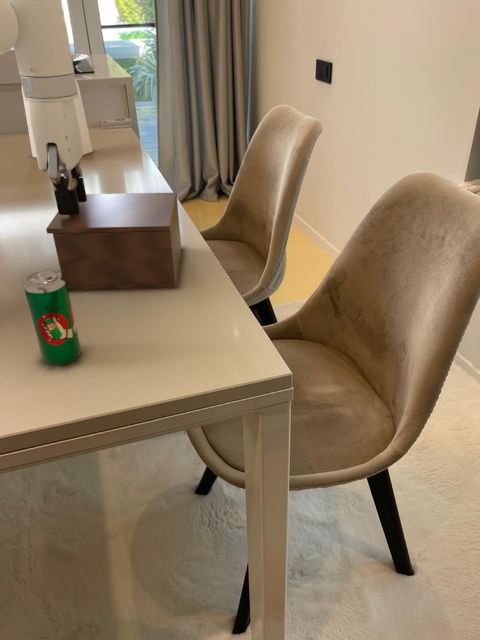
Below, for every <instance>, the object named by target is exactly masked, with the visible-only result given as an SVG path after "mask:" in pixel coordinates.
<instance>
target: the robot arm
mask: <svg viewBox="0 0 480 640" xmlns="http://www.w3.org/2000/svg"><path fill="white" fill-rule="evenodd" d="M69 39H70V38H69V34H68V28H67V23H66V15H65V10H64V4H63V0H0V56H2V55H4V54H6V53H8V52H10V50H12V49H13V51H14V55H15V61H16V64H17V65H16V66H17V69H18V73H19V78H20V82H21V88H22V87H23V92H24V96H25V100H26V101H29V107H30V119H31V126H32V133H33V139H34V144H35V150H36V156H37V157H36V161H37V166H38V169H39V170H40V171H41V172H43V173H45V172H47V171H48V177H49V178H48V179H49V180H50V182H51V184H52V185H51V186H52V191H53V193H54V198H55V202H56V209H57V212H58V213H59V214H60V215H78V214H79V212H80V211H79V206H78V202H86V200H87V197H86V194H87V193H86V192H87V191H86V187H85V181H84V177H83V170H82V166H81V159H82V157H83V155H82V154H83V149H82V141H81V135H80V130H79V125H78V120H77V115H76V111H75V106H74V102H73V99H76V98H77V97H78V92H77V86H76V81H77V79H76V75H75V74H76V73H75V70H74V64H73V63H74V62H73V57H72V52H71V51H72V50H71V46H70V40H69ZM60 166H61V169H60ZM72 178H75V179H76V180H77V182H78V185H77V187H76V190H75V189H73V185H72ZM76 192H77V195H76ZM77 197H78V201H77Z"/></svg>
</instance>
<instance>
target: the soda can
mask: <svg viewBox="0 0 480 640" xmlns="http://www.w3.org/2000/svg"><path fill="white" fill-rule="evenodd" d="M24 282H25V284H24V286H23V290H24V294H25V298H26V301H27V306H28V308H29V313H30V316H31V320H32V324H33V328H34V331H35V336H36V339H37V342H38V346H39V351H40V354H41V357H42V359H43V360H44V362H45V363H48V364H50V365H53V366H63V365H67V364H70V363H72V362H74V361H75V360H77V358H79V356H80V354H81V352H82V348H81V342H80V339H79V338H80V337H79V334H78V328H77V324H76V319H75V315H74V311H73V305H72V301H71V297H70V291H68V287H67V283H66V280H65V279H64V278H63V277H62V274H61V271H58V270H56V269H42V270H37V271H34V272H32V273H30V274H28V275H26V277H25V279H24Z"/></svg>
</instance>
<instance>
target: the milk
mask: <svg viewBox="0 0 480 640" xmlns="http://www.w3.org/2000/svg"><path fill="white" fill-rule="evenodd" d="M76 86H77V92H78V97H77V98H76V99H73V102H74V106H75V111H76V115H77V120H78V125H79V130H80V135H81V141H82V149H83V154H82V156H84V155H86V154H90V153H92V152H93V146H92V140H91V137H90V132H89V126H88V122H87V118H86V113H85V108H84V104H83V99H82V94H81V90H80V86H79V83H78V81H77V80H76ZM21 94H22V99H23V100H22V101H23V107H24V112H25V119H26V124H27V131H28V136H29V143H30V149H31V156H32V158H37V156H36V150H35V144H34V139H33V133H32V126H31V119H30V107H29V101H26V100H25V96H24V92H23V87H22V86H21Z"/></svg>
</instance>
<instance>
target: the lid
mask: <svg viewBox="0 0 480 640" xmlns="http://www.w3.org/2000/svg"><path fill="white" fill-rule="evenodd" d="M72 185H73V189H75V190H76V187H77V185H78V182H77V180H76V179H75V178H72ZM76 195H77V192H76ZM86 197H87V200H86V202H78V206H79V211H80V212H79V214H78V215H60V214H59V213H58V211H57V212H56V214H55V215H54V217H53V218H52V219H51V221H50V223H49V224H48V225H47V226H46V229H45V230H46V234H53V233H94V232H137V231H170V228H171V223H172V218H173V213H174V208H175V203H176V198H177V199H178V196H177V192H139V193H137V192H135V193H134V192H133V193H132V192H131V193H129V192H128V193H86ZM77 201H78V197H77Z"/></svg>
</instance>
